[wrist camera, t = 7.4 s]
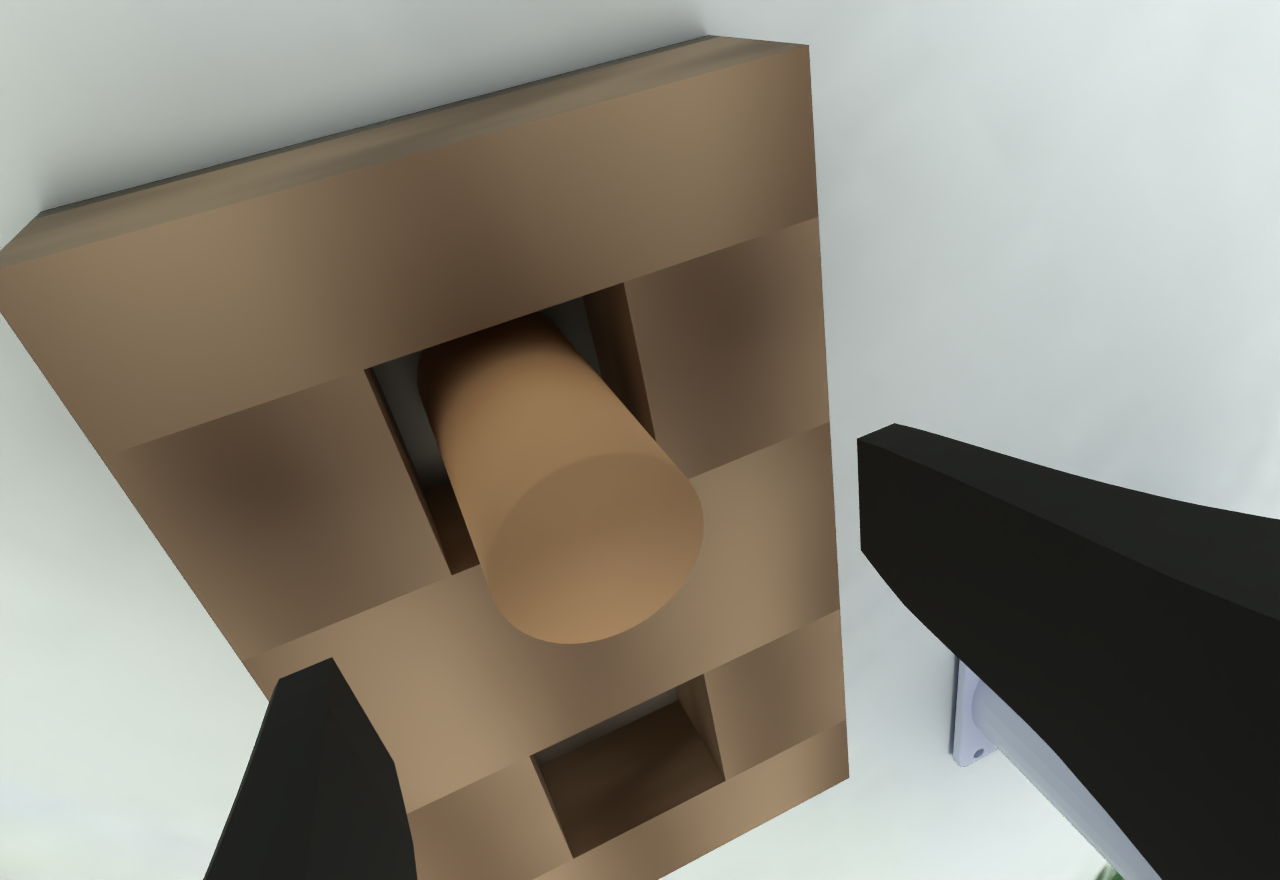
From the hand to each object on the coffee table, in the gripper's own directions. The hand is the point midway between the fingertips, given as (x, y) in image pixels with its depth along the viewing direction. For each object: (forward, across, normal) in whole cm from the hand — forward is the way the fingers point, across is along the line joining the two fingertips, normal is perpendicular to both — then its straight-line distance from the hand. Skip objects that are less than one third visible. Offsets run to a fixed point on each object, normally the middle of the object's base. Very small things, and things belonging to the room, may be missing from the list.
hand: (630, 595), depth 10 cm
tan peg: (+8, 0, 0) cm, 8 cm away
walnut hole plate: (+8, 0, +5) cm, 9 cm away
